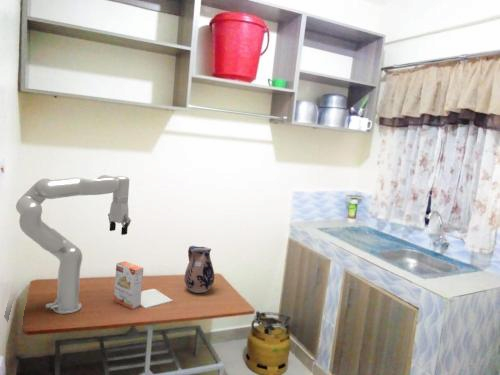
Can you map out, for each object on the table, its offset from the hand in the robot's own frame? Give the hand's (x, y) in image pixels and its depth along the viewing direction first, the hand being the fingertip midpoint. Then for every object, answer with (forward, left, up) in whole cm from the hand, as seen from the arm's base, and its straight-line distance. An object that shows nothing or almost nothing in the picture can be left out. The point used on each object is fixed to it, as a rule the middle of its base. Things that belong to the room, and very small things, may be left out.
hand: (118, 232), depth 192 cm
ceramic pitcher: (+45, -13, -36) cm, 59 cm away
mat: (+16, -10, -36) cm, 40 cm away
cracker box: (+2, -10, -36) cm, 38 cm away
